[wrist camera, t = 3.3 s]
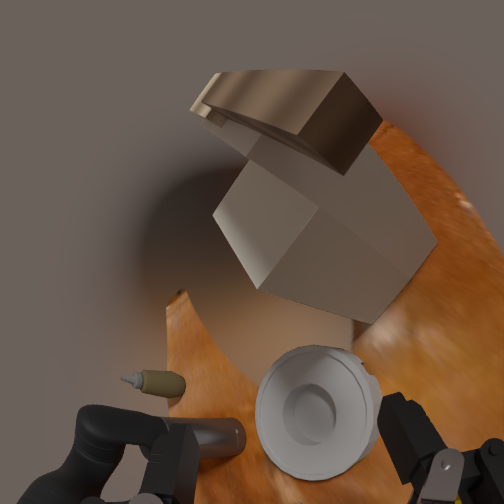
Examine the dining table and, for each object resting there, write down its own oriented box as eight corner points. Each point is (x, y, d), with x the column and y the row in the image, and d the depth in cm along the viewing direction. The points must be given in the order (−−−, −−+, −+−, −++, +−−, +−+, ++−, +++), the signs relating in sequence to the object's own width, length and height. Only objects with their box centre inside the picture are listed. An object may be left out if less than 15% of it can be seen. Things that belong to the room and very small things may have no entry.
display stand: (438, 242, 35) (305, 76, 16) (372, 324, 39) (177, 262, 21) (374, 197, 46) (233, 75, 27) (321, 268, 51) (158, 189, 32)
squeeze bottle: (182, 404, 69) (122, 398, 59) (172, 389, 76) (115, 382, 65) (190, 381, 70) (128, 373, 59) (179, 367, 76) (121, 357, 66)
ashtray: (370, 486, 28) (358, 495, 25) (264, 455, 45) (248, 458, 42) (391, 344, 36) (381, 342, 34) (277, 345, 53) (262, 343, 51)
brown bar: (394, 104, 10) (356, 55, 8) (329, 195, 11) (280, 157, 10) (227, 81, 28) (207, 68, 26) (202, 117, 30) (180, 105, 28)
